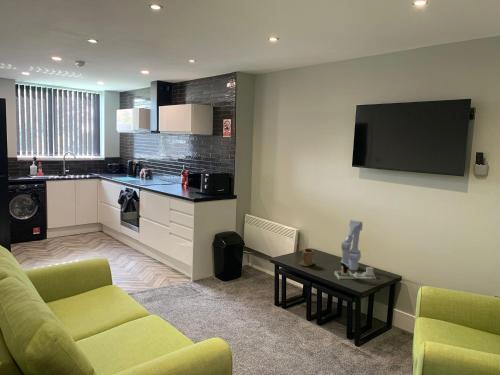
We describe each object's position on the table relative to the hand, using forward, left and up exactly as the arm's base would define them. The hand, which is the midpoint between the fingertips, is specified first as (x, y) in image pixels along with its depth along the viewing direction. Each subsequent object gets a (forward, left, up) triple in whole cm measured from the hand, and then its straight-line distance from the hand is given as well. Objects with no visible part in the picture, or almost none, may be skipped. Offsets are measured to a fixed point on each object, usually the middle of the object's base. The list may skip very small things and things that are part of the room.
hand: (344, 272), depth 317 cm
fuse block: (0, +16, -4) cm, 17 cm away
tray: (0, 0, -4) cm, 4 cm away
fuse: (0, +21, -3) cm, 21 cm away
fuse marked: (0, 0, -2) cm, 2 cm away
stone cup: (-29, -25, -4) cm, 39 cm away
